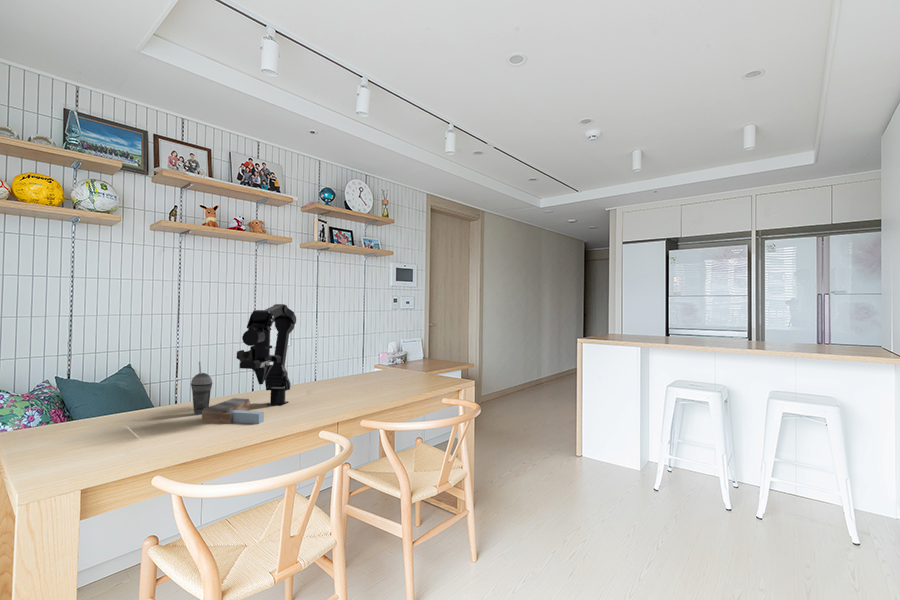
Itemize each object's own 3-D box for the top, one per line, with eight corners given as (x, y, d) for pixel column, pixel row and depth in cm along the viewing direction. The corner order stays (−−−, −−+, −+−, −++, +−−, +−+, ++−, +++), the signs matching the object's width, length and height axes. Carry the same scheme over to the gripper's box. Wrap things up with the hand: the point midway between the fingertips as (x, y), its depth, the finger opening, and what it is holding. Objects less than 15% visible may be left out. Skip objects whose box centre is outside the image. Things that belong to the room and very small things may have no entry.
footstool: (233, 409, 170) (233, 397, 170) (259, 411, 168) (259, 399, 168) (201, 422, 152) (201, 408, 152) (230, 424, 150) (230, 410, 150)
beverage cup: (201, 417, 158) (203, 363, 158) (185, 415, 160) (186, 362, 160) (216, 412, 166) (217, 360, 166) (200, 410, 167) (201, 359, 167)
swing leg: (263, 421, 153) (263, 411, 153) (258, 423, 150) (259, 413, 150) (229, 419, 155) (229, 409, 155) (223, 421, 152) (224, 411, 152)
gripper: (256, 340, 172) (255, 379, 172) (226, 344, 154) (225, 388, 154) (282, 341, 171) (281, 380, 171) (255, 345, 152) (254, 389, 152)
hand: (260, 384), depth 162 cm, fingers closed
